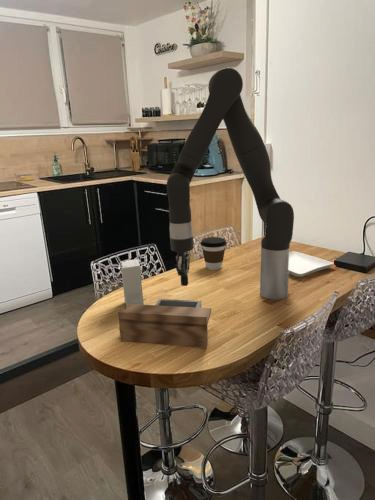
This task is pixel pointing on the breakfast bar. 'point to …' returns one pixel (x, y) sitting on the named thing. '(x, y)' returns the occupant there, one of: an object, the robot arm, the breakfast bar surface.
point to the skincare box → (132, 282)
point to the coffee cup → (213, 252)
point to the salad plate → (305, 264)
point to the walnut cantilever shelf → (164, 325)
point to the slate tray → (178, 303)
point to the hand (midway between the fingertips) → (184, 284)
